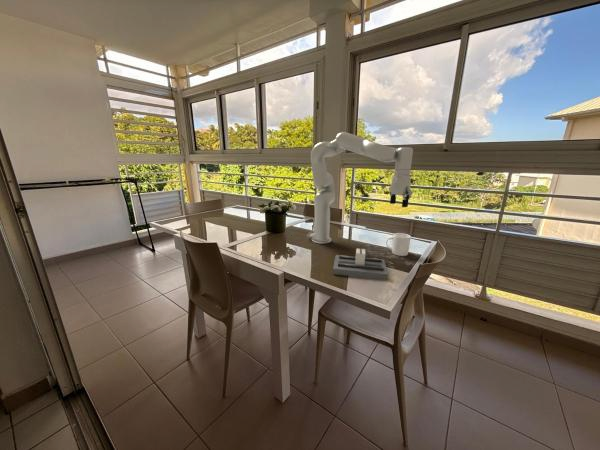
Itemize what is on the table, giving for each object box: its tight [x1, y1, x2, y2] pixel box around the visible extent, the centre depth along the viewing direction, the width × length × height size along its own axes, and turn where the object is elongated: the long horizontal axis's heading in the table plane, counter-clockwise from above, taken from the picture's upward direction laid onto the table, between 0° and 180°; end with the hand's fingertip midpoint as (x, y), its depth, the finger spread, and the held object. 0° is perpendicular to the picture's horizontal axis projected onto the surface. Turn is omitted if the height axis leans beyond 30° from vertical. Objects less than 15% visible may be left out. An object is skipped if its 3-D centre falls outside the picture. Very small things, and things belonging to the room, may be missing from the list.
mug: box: [386, 232, 411, 257], centre depth 134 cm, size 9×12×11 cm
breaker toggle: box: [355, 248, 366, 266], centre depth 114 cm, size 4×6×6 cm, turn 167°
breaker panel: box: [332, 254, 389, 281], centre depth 115 cm, size 24×16×4 cm, turn 78°
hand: (398, 205), depth 128 cm, fingers open, 9 cm apart
